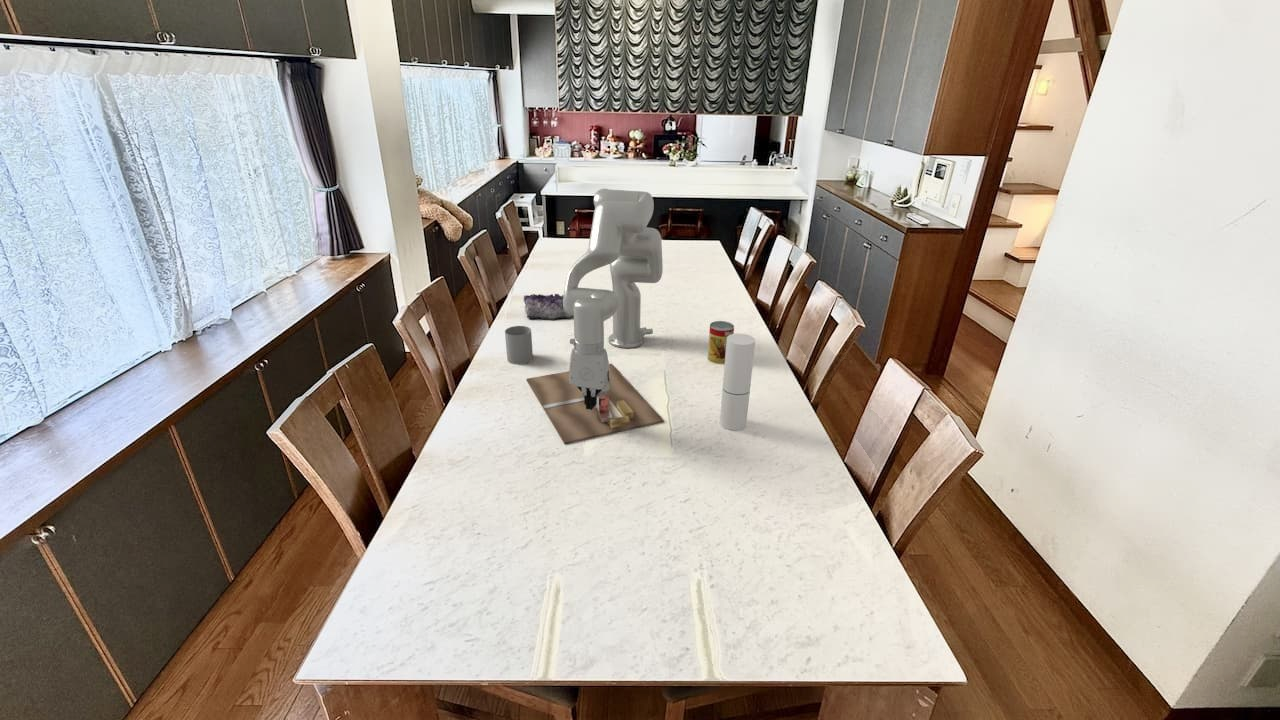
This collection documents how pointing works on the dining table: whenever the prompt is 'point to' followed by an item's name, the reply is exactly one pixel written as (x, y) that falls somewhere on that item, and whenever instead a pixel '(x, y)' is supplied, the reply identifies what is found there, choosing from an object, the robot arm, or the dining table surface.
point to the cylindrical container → (737, 381)
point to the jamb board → (584, 423)
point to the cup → (519, 344)
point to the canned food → (719, 340)
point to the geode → (545, 307)
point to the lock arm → (603, 407)
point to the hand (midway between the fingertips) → (590, 407)
